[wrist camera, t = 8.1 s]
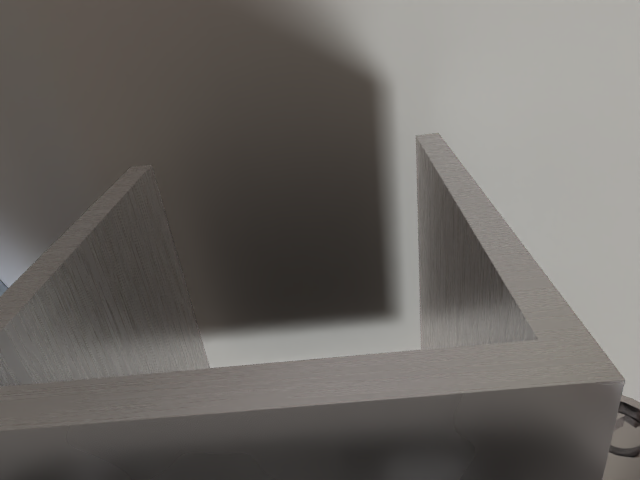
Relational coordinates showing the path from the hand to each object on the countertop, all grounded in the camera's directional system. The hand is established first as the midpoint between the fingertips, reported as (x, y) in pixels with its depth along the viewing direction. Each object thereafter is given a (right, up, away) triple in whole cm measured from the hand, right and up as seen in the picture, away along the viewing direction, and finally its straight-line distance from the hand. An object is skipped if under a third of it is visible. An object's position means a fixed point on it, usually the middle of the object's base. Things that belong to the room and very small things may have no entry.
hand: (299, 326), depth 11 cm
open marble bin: (0, +1, +2) cm, 2 cm away
